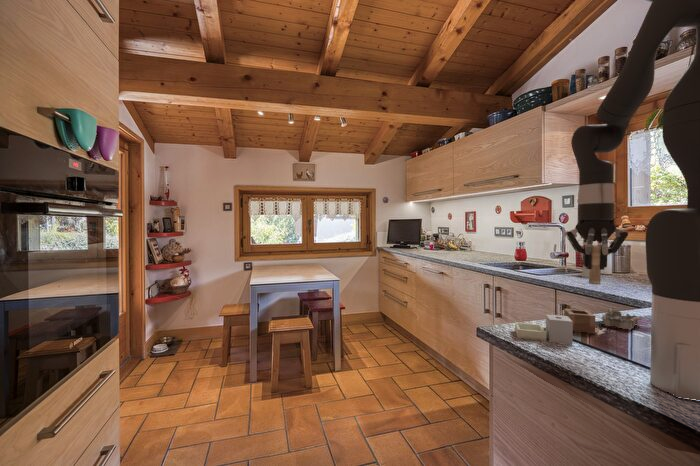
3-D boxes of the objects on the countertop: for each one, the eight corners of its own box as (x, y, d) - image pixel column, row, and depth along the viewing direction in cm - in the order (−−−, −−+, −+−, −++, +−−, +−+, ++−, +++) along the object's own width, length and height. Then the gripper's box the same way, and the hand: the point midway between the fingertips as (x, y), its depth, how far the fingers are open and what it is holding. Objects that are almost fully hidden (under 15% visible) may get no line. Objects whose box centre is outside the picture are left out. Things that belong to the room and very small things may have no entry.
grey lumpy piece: (611, 319, 102) (611, 307, 102) (642, 325, 96) (642, 312, 96) (598, 325, 96) (598, 312, 96) (629, 332, 90) (630, 318, 90)
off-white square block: (572, 345, 80) (572, 321, 80) (549, 342, 82) (549, 319, 82) (567, 338, 85) (567, 315, 85) (545, 336, 87) (545, 314, 87)
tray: (546, 341, 83) (546, 332, 83) (517, 338, 85) (517, 329, 85) (541, 333, 89) (541, 324, 89) (514, 330, 91) (515, 322, 91)
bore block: (595, 333, 88) (595, 316, 88) (569, 331, 90) (569, 313, 90) (588, 327, 94) (588, 310, 94) (564, 325, 96) (564, 308, 96)
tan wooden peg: (601, 284, 81) (602, 245, 81) (590, 284, 82) (590, 245, 82) (598, 283, 84) (599, 245, 83) (587, 282, 85) (587, 245, 84)
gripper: (567, 202, 82) (567, 269, 82) (635, 200, 76) (634, 272, 77) (560, 204, 89) (560, 266, 89) (622, 202, 83) (621, 268, 84)
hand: (594, 268), depth 83 cm, fingers closed on tan wooden peg, 2 cm apart
